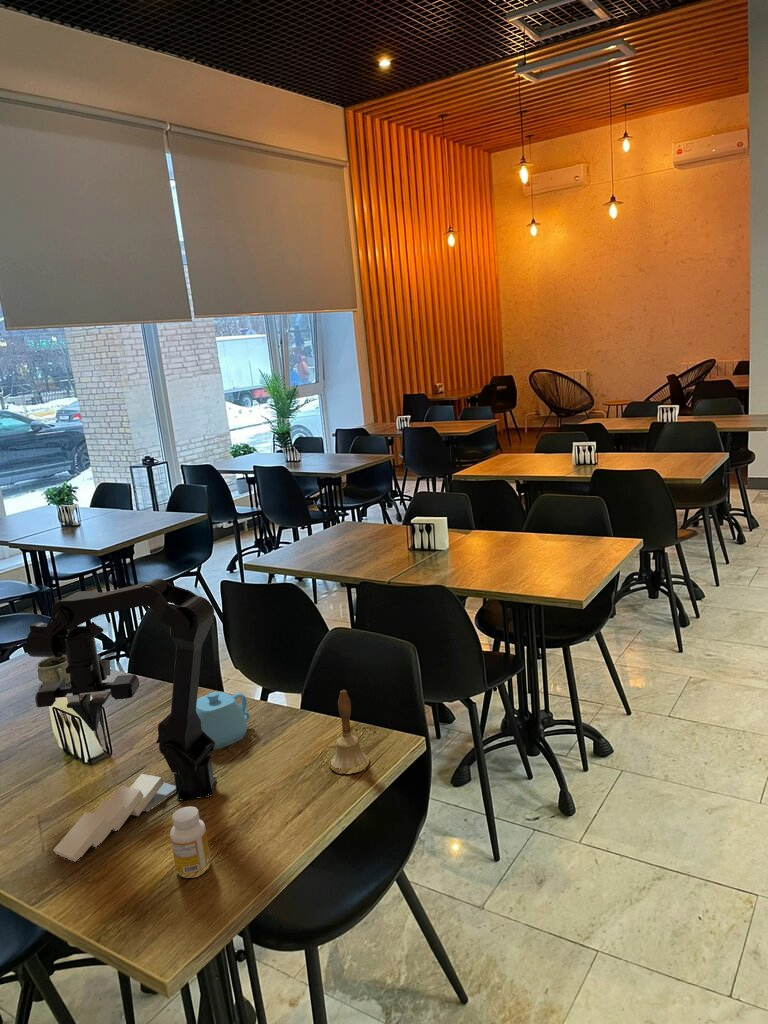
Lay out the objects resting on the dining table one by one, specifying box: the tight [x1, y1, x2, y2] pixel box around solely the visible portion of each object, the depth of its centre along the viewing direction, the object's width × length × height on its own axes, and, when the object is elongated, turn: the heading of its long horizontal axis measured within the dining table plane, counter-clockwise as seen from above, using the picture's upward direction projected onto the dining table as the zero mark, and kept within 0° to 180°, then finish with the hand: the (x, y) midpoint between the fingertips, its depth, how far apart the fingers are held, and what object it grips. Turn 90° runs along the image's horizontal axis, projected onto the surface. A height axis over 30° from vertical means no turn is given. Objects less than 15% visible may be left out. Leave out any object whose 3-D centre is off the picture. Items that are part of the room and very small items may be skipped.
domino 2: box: [90, 798, 127, 847], centre depth 139 cm, size 2×5×8 cm
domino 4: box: [129, 773, 164, 817], centre depth 147 cm, size 2×5×8 cm
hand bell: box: [330, 689, 368, 769], centre depth 154 cm, size 8×8×16 cm
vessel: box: [35, 654, 71, 686], centre depth 210 cm, size 12×9×6 cm
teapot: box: [168, 691, 250, 751], centre depth 169 cm, size 13×11×18 cm
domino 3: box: [109, 785, 144, 832], centre depth 143 cm, size 2×5×8 cm
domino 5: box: [143, 781, 176, 811], centre depth 149 cm, size 2×5×8 cm
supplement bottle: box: [169, 806, 211, 874], centre depth 126 cm, size 6×6×10 cm
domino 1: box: [53, 811, 108, 861], centre depth 135 cm, size 2×5×8 cm
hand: (95, 729), depth 154 cm, fingers closed
